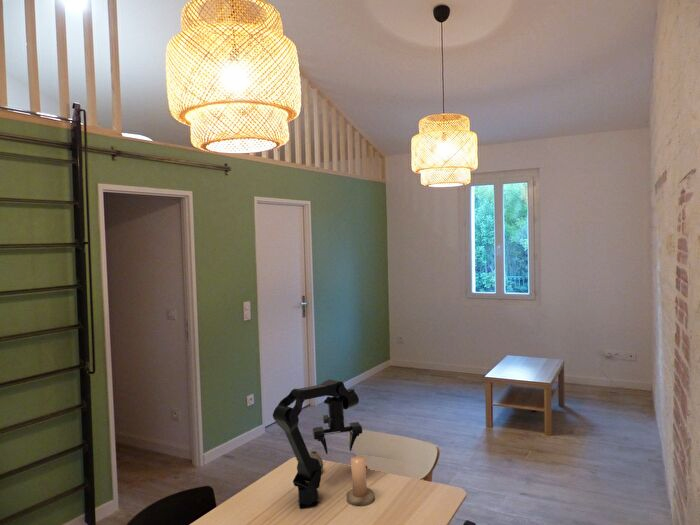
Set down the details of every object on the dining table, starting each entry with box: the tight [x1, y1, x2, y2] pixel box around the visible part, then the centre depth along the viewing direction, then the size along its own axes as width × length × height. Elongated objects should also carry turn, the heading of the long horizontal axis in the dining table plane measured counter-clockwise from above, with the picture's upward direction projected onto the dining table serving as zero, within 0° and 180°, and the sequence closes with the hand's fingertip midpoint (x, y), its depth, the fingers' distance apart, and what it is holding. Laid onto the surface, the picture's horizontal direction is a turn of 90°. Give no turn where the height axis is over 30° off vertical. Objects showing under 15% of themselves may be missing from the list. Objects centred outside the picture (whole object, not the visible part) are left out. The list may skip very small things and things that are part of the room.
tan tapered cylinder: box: [350, 455, 368, 497], centre depth 190 cm, size 5×5×13 cm
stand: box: [346, 487, 375, 507], centre depth 190 cm, size 10×10×2 cm
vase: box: [309, 450, 324, 472], centre depth 214 cm, size 7×7×9 cm
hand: (338, 452), depth 201 cm, fingers open, 9 cm apart
